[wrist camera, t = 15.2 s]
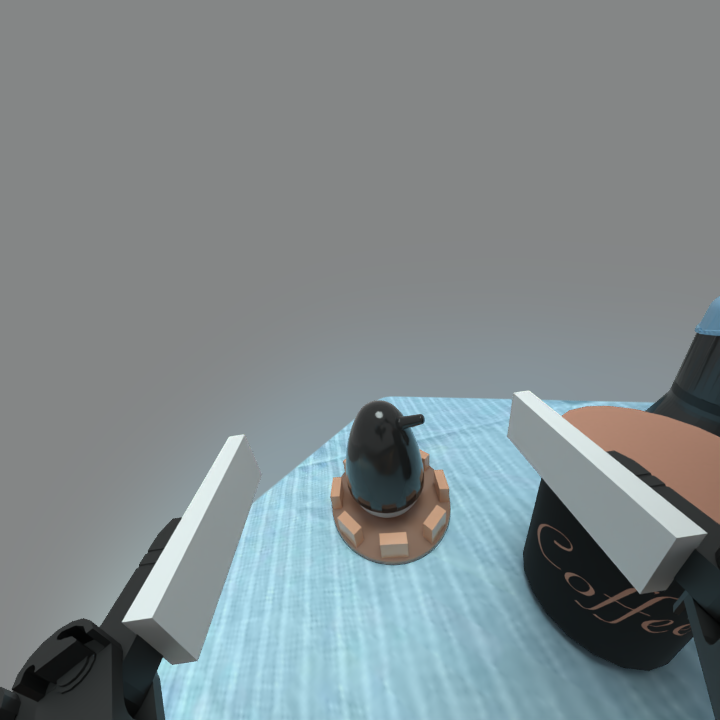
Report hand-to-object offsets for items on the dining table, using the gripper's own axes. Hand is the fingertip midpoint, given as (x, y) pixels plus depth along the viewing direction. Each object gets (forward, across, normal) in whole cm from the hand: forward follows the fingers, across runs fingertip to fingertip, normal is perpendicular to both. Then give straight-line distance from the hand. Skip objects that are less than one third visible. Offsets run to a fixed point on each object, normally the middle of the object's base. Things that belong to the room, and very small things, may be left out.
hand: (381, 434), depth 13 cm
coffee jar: (+2, +18, -25) cm, 31 cm away
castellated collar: (+14, +1, -24) cm, 28 cm away
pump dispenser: (+14, 0, -24) cm, 28 cm away
